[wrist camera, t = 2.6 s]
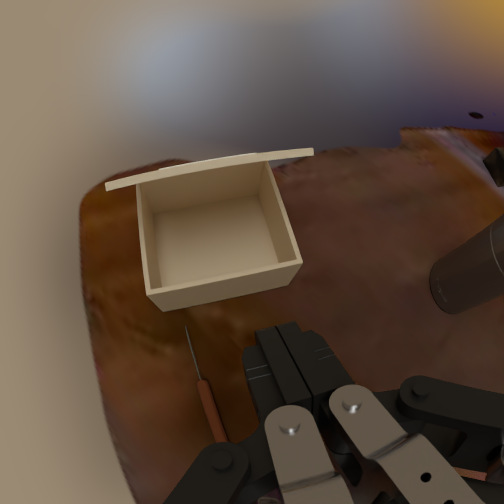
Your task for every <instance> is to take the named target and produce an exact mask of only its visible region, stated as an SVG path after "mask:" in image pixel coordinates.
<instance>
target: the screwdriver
mask: <svg viewBox="0 0 504 504" xmlns="http://www.w3.org/2000/svg"><path fill="white" fill-rule="evenodd" d="M185 328H186V325H185ZM186 333H187V337H188V341H189V344H190V348H191V351H192V355H193V358H194V362H195V365H196V369H197V372H198V375H199V379H200V380H199V381H198V382H197V383H196V385H197V388H198V392H199V395H200V398H201V401H202V404H203V407H204V410H205V413H206V416H207V419H208V422H209V425H210V427H211V430H212V433H213V436H214V438H215V441H216V443H217V442H228V439H227V436H226V433H225V431H224V428H223V425H222V422H221V419H220V417H219V414H218V411H217V408H216V405H215V402H214V399H213V396H212V393H211V390H210V386H209V383H208V381H207V380H205V379H201V376H200V373H199V369H198V366H197V363H196V360H195V356H194V353H193V349H192V346H191V342H190V339H189V335H188V332H187V328H186Z"/></svg>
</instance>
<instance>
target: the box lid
mask: <svg viewBox="0 0 504 504" xmlns="http://www.w3.org/2000/svg"><path fill="white" fill-rule="evenodd" d="M311 155H314V152H313V148H304V149H293V150H283V151H273V152H265V153H250V154H242V155H235V156H229V157H222V158H216V159H210V160H204V161H198V162H193V163H187V164H182V165H177V166H172V167H167V168H162V169H159V170H157V171H152V172H147V173H143V174H138V175H134V176H130V177H126V178H122V179H118V180H115V181H111V182H107V183H105V186H106V191H108V190H112V189H116V188H120V187H125V186H129V185H133V184H137V183H142V182H146V181H151V180H156V179H160V178H165V177H170V176H175V175H180V174H185V173H191V172H196V171H202V170H207V169H213V168H219V167H225V166H232V165H238V164H245V163H252V162H259V161H267V160H275V159H283V158H292V157H301V156H311Z"/></svg>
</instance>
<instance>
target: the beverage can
mask: <svg viewBox="0 0 504 504" xmlns="http://www.w3.org/2000/svg"><path fill="white" fill-rule="evenodd" d="M256 504H281V500H280V496H279V492H278V489H274V490H273V491H271V492H269V493H268V494H266V495H264V496H263V497H261V498H259V499H258V501H257V503H256Z"/></svg>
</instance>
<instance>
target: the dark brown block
mask: <svg viewBox="0 0 504 504" xmlns="http://www.w3.org/2000/svg"><path fill="white" fill-rule="evenodd" d="M483 162H484V164H485V166H486V167H487V169H488V170H489V172H490V174H491V176H492V177H493V179H494V181H495V183H496V185H497V186H498V187H499V186H504V148H495V149H494V150H493V151H492V152H491V153H490V154H489V155H488V156H487V157H486V158H485V159H484V160H483Z"/></svg>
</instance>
